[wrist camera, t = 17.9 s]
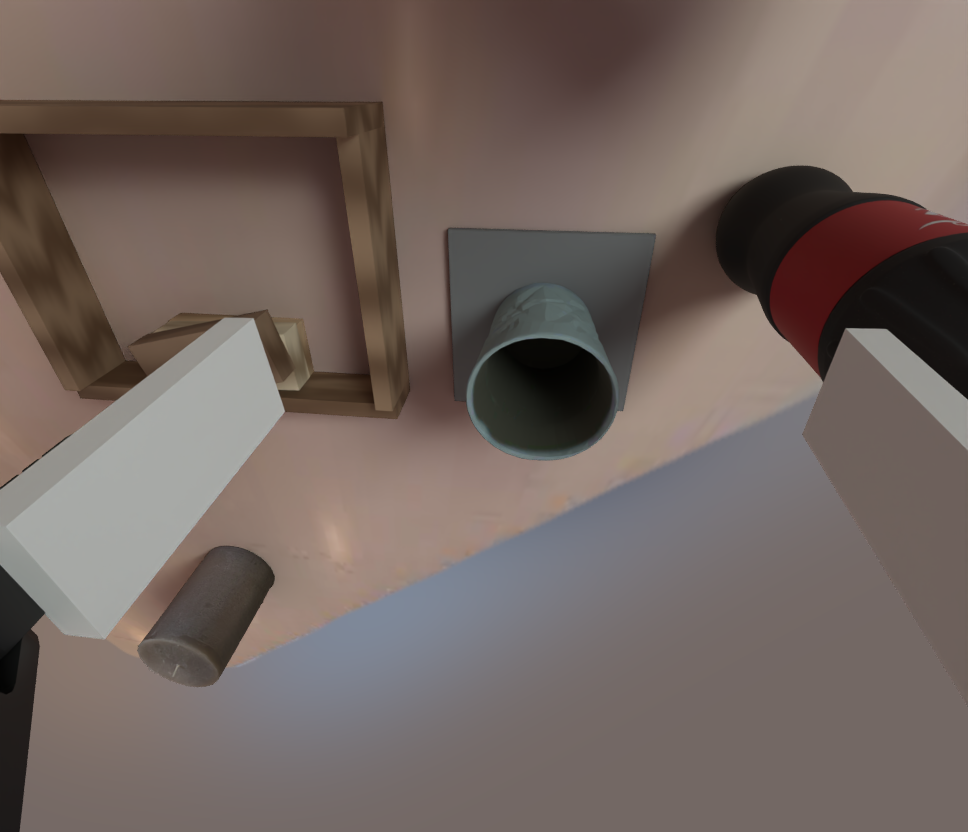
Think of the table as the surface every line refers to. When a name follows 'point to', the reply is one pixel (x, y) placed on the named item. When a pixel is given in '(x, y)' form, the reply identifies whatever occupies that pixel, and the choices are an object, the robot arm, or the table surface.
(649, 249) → the charcoal mat
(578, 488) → the table surface
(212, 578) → the pillar candle
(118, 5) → the table surface
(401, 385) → the frame
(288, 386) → the birch offcut
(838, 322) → the cola bottle
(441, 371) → the table surface
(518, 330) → the grey cup
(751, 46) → the table surface
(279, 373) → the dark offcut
